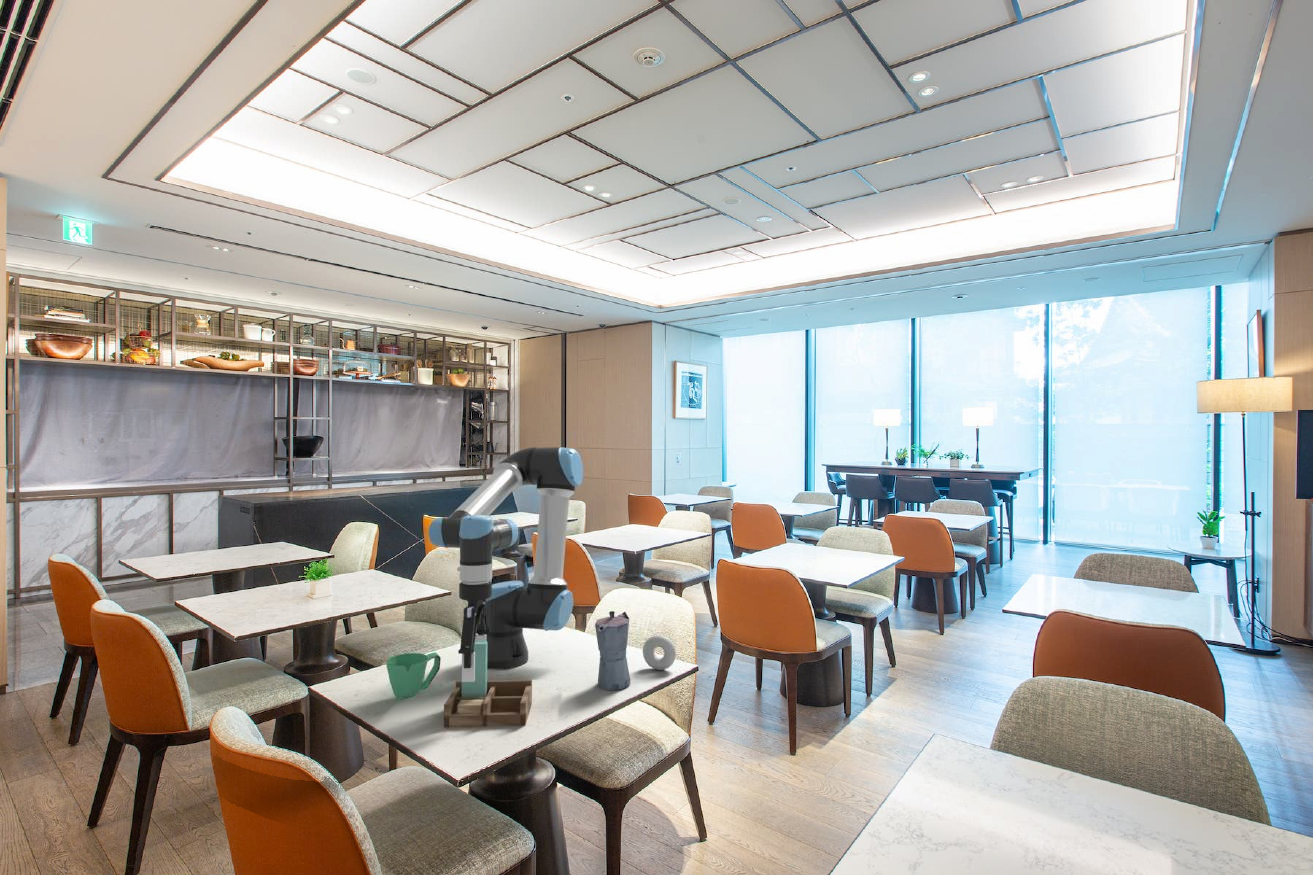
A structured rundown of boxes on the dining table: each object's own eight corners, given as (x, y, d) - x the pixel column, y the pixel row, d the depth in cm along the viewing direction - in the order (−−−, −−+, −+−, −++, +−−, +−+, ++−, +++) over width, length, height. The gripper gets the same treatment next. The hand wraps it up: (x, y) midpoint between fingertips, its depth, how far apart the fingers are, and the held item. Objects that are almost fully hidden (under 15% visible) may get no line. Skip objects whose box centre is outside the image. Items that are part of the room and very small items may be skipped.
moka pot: (584, 691, 169) (585, 614, 169) (610, 672, 183) (611, 601, 183) (617, 696, 165) (618, 618, 165) (641, 676, 179) (641, 605, 180)
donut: (677, 669, 185) (677, 635, 186) (673, 673, 182) (674, 638, 182) (644, 665, 189) (645, 631, 189) (640, 669, 185) (641, 634, 186)
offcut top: (460, 708, 148) (460, 699, 148) (483, 708, 149) (483, 699, 149) (457, 714, 145) (457, 705, 145) (480, 713, 145) (481, 704, 146)
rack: (456, 711, 155) (456, 680, 155) (531, 710, 156) (532, 679, 156) (443, 734, 143) (444, 700, 143) (525, 732, 144) (525, 698, 144)
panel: (463, 709, 153) (464, 641, 153) (486, 708, 153) (487, 641, 153) (461, 712, 151) (462, 644, 151) (485, 712, 151) (485, 644, 151)
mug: (401, 709, 156) (402, 668, 156) (377, 700, 161) (378, 660, 162) (450, 690, 168) (451, 652, 168) (427, 682, 174) (427, 645, 174)
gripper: (470, 571, 165) (469, 654, 164) (446, 592, 140) (444, 690, 139) (500, 571, 165) (499, 653, 165) (481, 592, 140) (480, 690, 140)
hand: (474, 671), depth 152 cm, fingers open, 13 cm apart
